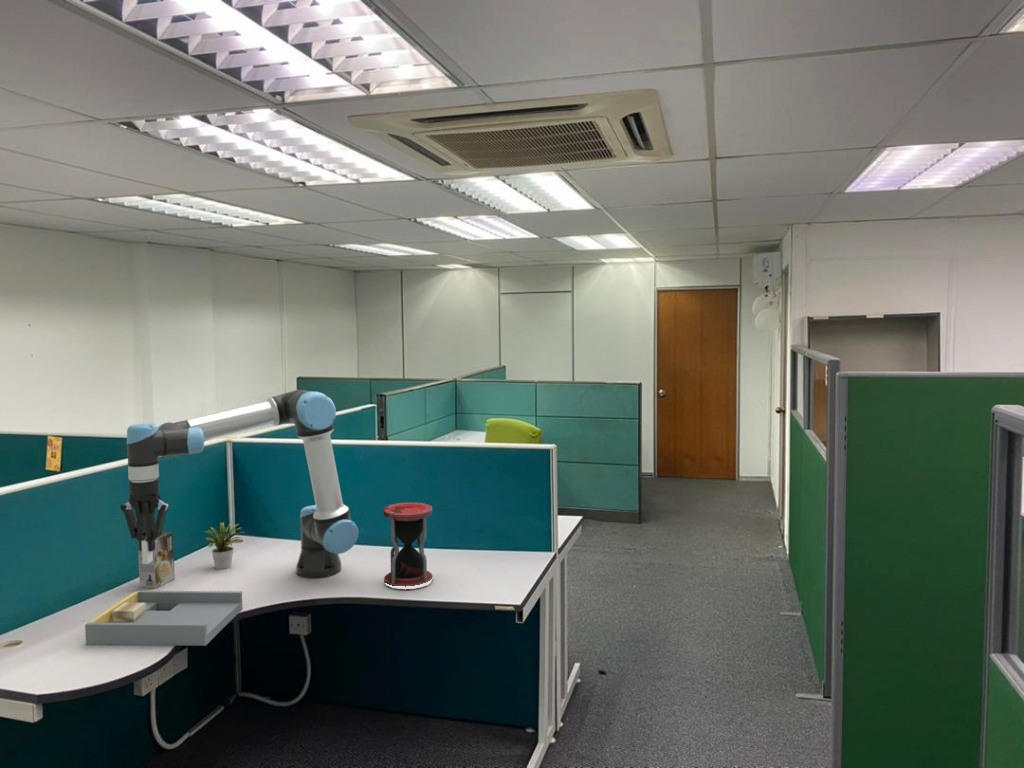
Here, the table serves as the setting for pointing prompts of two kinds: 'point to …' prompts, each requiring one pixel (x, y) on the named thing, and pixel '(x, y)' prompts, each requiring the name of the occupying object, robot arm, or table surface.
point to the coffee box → (158, 563)
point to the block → (129, 612)
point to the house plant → (223, 546)
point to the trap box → (168, 619)
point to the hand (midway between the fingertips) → (147, 562)
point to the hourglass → (408, 544)
